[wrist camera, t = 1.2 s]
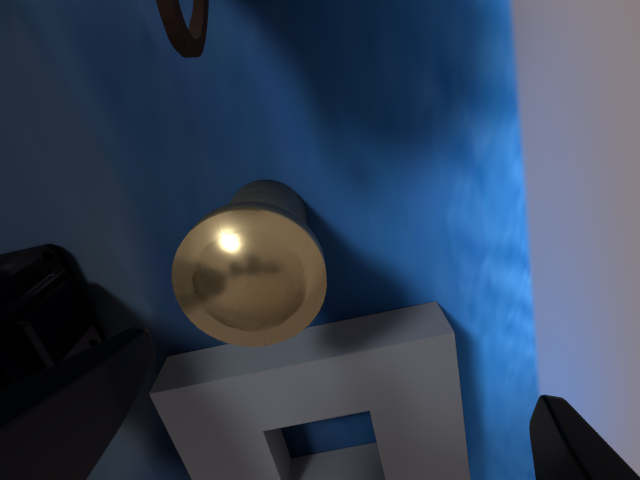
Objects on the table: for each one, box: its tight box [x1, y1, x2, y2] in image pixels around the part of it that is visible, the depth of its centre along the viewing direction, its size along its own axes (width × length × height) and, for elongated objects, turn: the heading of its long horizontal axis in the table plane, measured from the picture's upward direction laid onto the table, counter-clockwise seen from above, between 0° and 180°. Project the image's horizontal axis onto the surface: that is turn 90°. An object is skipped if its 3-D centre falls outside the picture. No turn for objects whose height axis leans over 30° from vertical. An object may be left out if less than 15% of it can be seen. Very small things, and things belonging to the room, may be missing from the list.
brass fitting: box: [172, 180, 327, 347], centre depth 17 cm, size 5×5×7 cm
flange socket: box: [149, 301, 470, 480], centre depth 24 cm, size 16×14×3 cm
